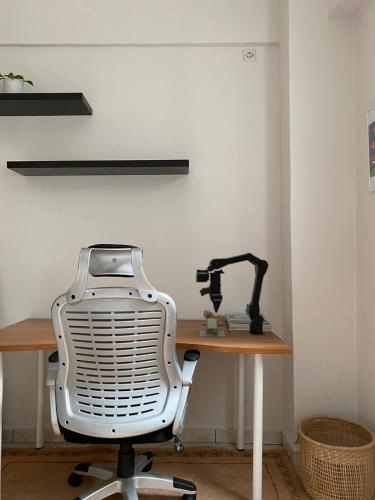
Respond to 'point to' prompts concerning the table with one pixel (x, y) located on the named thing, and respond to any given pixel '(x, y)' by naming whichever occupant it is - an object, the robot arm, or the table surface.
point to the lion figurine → (214, 316)
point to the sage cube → (212, 323)
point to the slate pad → (220, 333)
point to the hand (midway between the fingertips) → (215, 311)
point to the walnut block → (211, 331)
